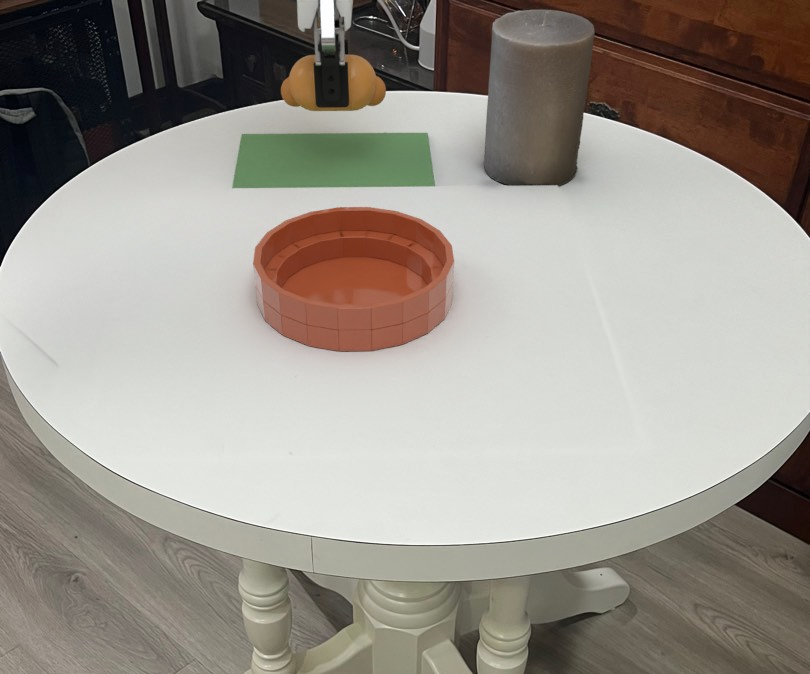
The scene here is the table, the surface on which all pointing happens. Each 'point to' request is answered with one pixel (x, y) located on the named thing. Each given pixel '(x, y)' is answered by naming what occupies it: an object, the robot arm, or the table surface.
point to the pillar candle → (537, 96)
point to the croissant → (360, 78)
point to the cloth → (334, 160)
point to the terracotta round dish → (354, 278)
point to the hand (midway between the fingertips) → (332, 92)
